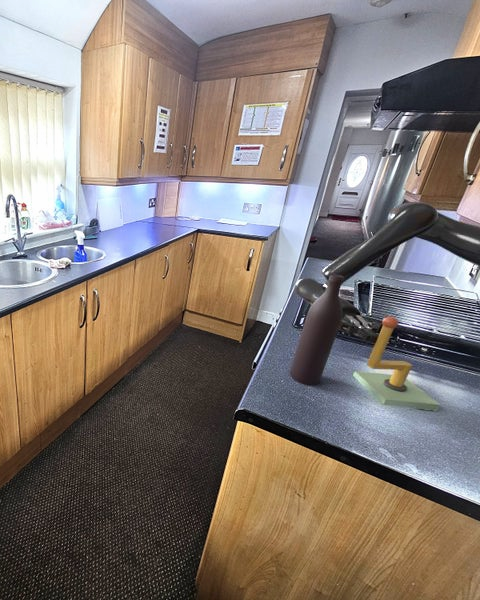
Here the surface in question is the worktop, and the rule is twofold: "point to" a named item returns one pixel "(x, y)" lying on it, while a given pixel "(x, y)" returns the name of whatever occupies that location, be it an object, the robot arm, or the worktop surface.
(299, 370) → the wine bottle
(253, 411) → the worktop surface
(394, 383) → the rod
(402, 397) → the stand
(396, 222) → the robot arm
